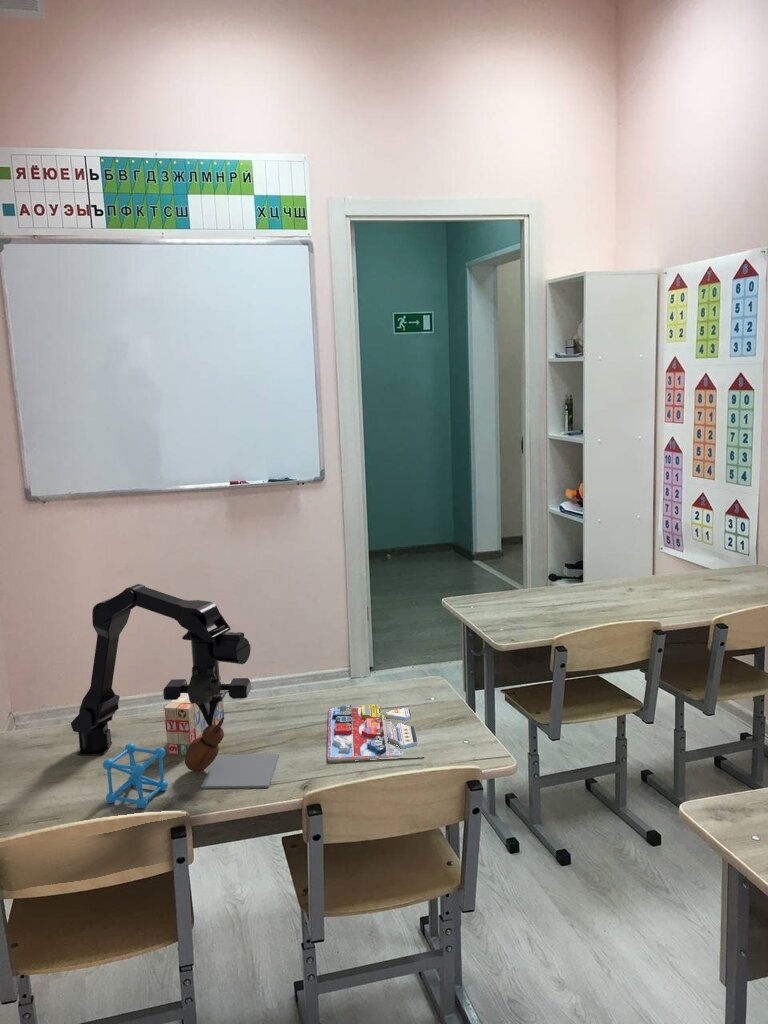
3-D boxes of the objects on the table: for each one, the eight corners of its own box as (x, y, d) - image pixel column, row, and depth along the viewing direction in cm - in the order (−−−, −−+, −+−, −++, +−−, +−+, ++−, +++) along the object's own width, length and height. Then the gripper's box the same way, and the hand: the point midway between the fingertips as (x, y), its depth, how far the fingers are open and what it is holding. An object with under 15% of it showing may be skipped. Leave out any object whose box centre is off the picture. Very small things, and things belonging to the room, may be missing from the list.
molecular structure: (103, 804, 179) (99, 760, 177) (132, 782, 188) (128, 740, 186) (143, 811, 175) (140, 767, 174) (170, 788, 185) (167, 746, 183)
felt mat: (201, 788, 184) (201, 786, 184) (216, 756, 199) (216, 754, 199) (268, 787, 184) (268, 785, 184) (279, 756, 198) (278, 754, 198)
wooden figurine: (191, 777, 187) (224, 725, 185) (175, 760, 190) (208, 708, 187) (210, 772, 193) (242, 721, 191) (195, 756, 196) (226, 705, 193)
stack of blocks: (202, 718, 222) (199, 674, 219) (224, 719, 220) (222, 675, 218) (167, 755, 201) (163, 706, 199) (191, 756, 200) (188, 708, 198)
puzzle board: (425, 760, 196) (425, 750, 195) (327, 765, 195) (327, 754, 194) (413, 708, 226) (413, 698, 225) (328, 712, 225) (328, 702, 224)
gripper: (153, 672, 179) (159, 740, 182) (239, 671, 179) (244, 739, 181) (168, 655, 190) (173, 719, 193) (249, 653, 189) (253, 718, 192)
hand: (210, 724), depth 189 cm, fingers closed
